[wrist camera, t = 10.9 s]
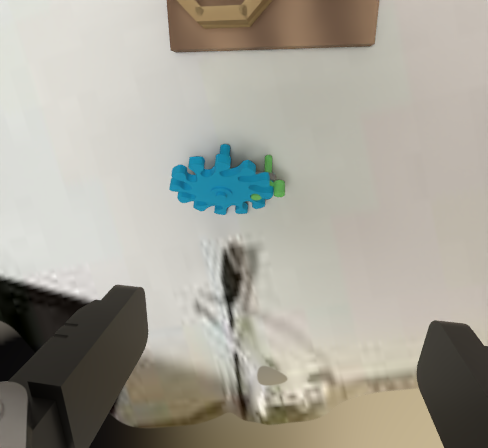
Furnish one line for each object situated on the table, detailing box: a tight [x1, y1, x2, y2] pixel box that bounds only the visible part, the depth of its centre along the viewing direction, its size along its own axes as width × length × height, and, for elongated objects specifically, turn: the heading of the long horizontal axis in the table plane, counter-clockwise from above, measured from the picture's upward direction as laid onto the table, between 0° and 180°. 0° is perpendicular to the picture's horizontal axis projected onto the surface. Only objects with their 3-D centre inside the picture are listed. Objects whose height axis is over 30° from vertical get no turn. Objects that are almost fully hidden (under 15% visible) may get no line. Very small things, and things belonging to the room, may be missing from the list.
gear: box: [170, 144, 285, 215], centre depth 33 cm, size 11×6×10 cm
